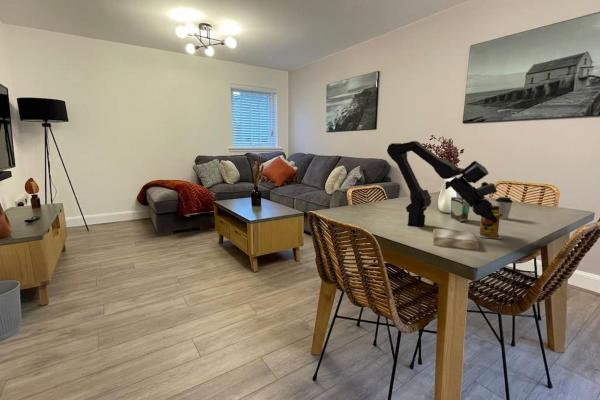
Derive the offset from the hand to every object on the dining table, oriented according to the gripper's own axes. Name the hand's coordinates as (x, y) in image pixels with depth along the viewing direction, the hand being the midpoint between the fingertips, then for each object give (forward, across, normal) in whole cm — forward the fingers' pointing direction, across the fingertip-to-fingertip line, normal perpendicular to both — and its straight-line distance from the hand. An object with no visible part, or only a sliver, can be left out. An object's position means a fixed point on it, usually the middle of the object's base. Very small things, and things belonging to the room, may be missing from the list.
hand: (495, 219), depth 114 cm
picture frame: (-6, -13, +15) cm, 21 cm away
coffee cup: (+11, +34, -2) cm, 36 cm away
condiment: (+4, +1, +6) cm, 7 cm away
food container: (-1, +24, +11) cm, 27 cm away
